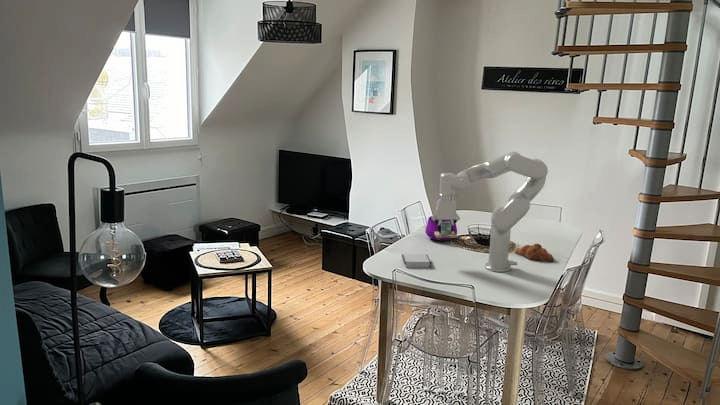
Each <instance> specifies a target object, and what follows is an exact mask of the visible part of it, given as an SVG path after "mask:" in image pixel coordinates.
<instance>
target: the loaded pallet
mask: <svg viewBox="0 0 720 405" xmlns="http://www.w3.org/2000/svg"><path fill="white" fill-rule="evenodd" d="M434 235H436V238H453V239H456V238H457V235H456V234H455V233H454V232H452V233H451V223H450V222H441V233H439V232H434Z"/></svg>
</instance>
